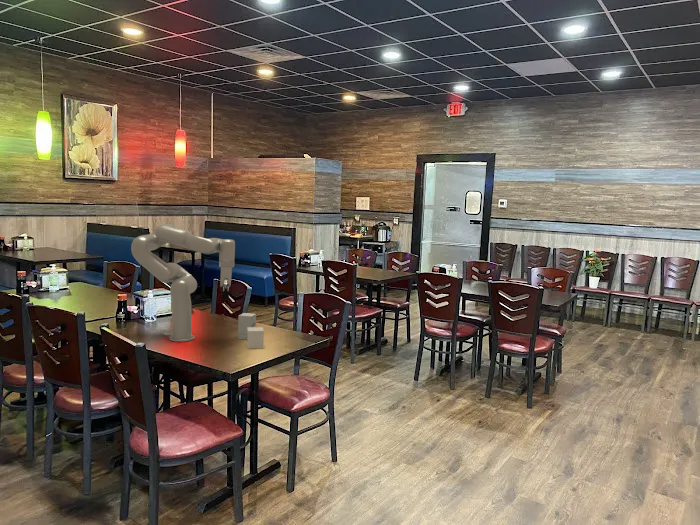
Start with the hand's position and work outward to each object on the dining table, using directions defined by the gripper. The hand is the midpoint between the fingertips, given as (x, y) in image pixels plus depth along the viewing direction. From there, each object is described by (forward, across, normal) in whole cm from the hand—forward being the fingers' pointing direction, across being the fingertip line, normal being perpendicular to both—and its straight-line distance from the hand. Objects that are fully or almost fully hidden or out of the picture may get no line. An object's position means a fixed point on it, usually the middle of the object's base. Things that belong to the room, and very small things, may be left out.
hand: (225, 297), depth 277 cm
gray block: (+22, +11, +15) cm, 29 cm away
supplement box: (+23, -6, +11) cm, 26 cm away
